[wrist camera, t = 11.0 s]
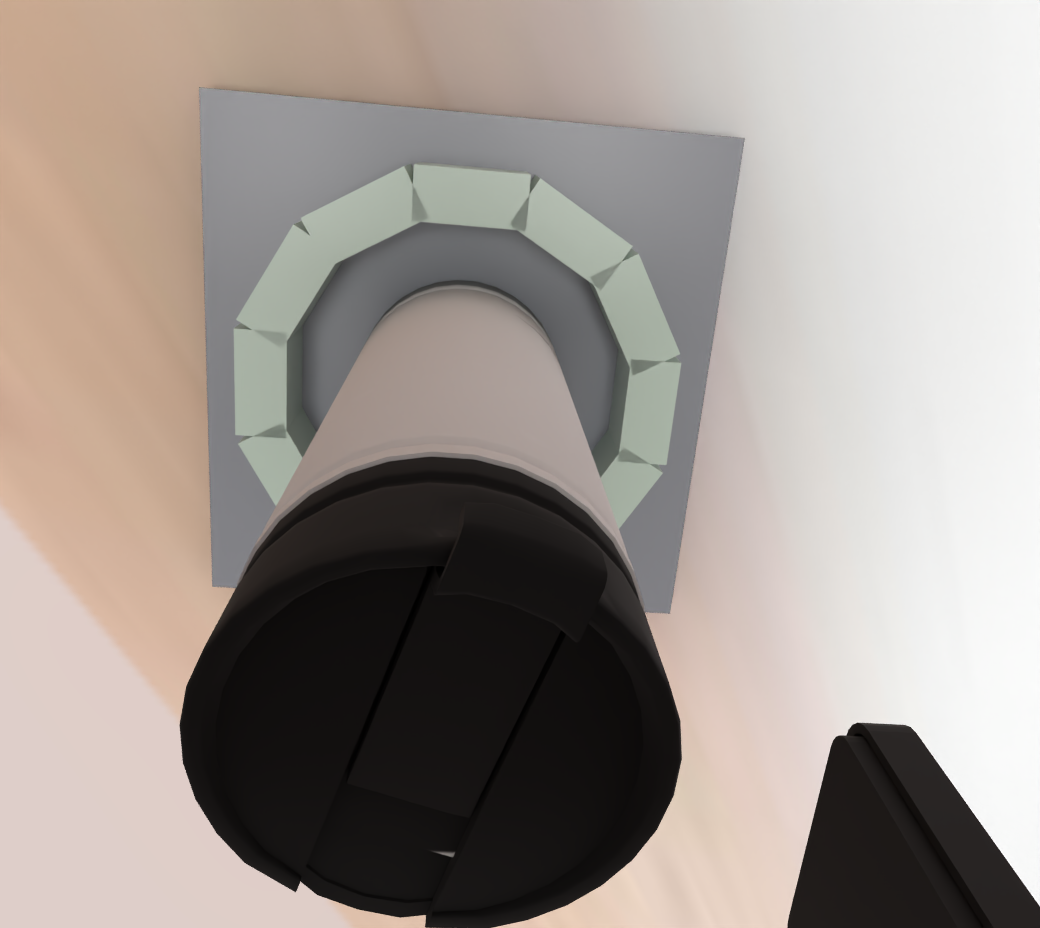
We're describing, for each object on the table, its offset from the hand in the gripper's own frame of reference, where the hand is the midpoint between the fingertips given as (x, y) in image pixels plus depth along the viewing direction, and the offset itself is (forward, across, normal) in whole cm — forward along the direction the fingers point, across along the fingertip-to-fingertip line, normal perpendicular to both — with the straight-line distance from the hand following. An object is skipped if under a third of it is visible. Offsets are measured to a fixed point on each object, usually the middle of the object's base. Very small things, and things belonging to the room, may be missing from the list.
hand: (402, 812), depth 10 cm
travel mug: (+21, 0, +1) cm, 21 cm away
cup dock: (+22, 0, +1) cm, 22 cm away
